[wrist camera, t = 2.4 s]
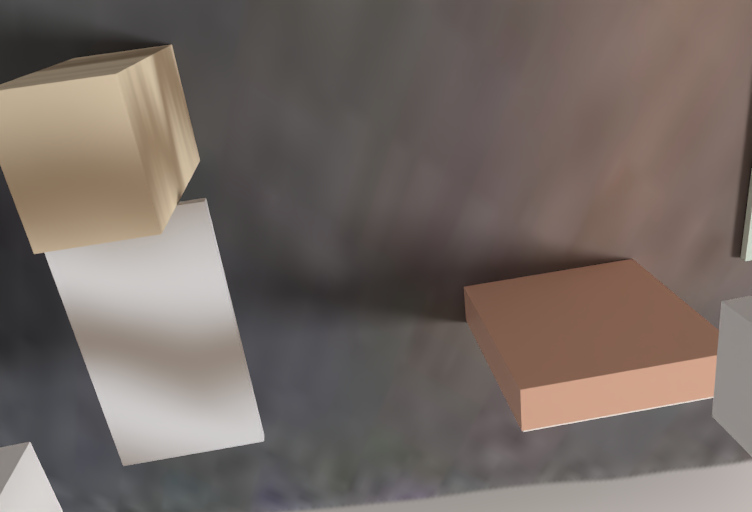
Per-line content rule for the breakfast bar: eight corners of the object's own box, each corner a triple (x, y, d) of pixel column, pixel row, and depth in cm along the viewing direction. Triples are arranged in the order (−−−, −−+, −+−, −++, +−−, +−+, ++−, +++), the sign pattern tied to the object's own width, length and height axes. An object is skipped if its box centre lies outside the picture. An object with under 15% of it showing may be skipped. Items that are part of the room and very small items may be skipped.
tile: (463, 286, 33) (520, 389, 24) (632, 258, 33) (743, 350, 25) (466, 322, 33) (521, 433, 25) (630, 294, 34) (737, 395, 26)
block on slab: (49, 61, 26) (-63, 99, 18) (196, 41, 26) (151, 68, 18) (153, 381, 33) (105, 516, 24) (269, 362, 33) (260, 488, 25)
